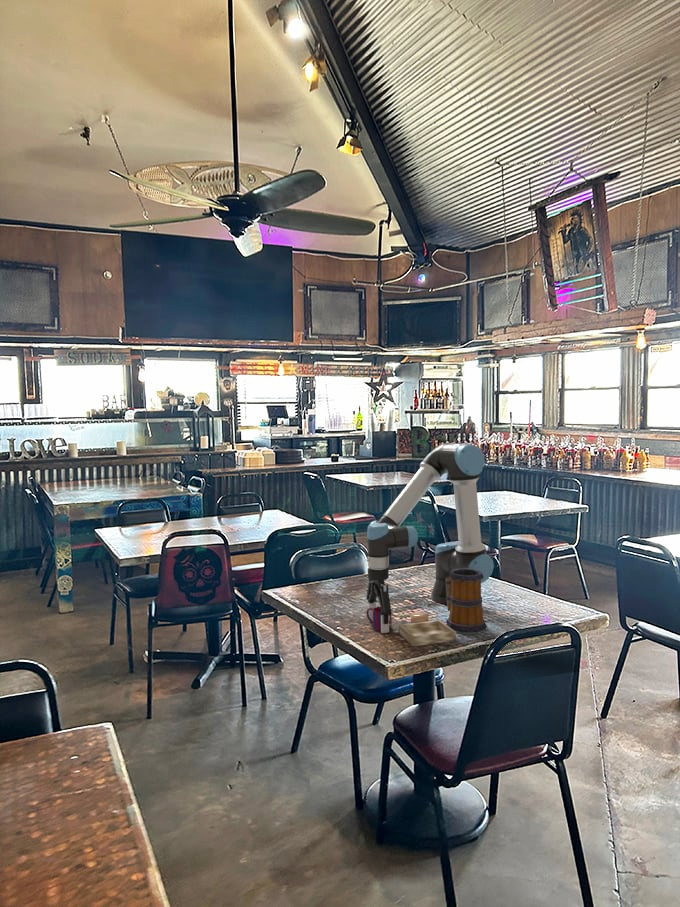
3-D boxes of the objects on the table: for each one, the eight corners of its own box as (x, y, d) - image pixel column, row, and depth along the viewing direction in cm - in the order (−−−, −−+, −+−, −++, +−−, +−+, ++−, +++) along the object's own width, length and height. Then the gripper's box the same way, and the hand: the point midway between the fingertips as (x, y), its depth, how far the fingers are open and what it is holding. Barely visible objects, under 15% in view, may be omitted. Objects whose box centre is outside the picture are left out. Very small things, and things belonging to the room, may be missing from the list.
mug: (430, 620, 234) (430, 566, 233) (463, 614, 240) (463, 562, 238) (460, 636, 216) (460, 579, 215) (495, 630, 222) (495, 574, 221)
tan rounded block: (424, 620, 234) (424, 611, 233) (431, 626, 228) (431, 616, 227) (408, 622, 232) (407, 613, 232) (414, 628, 226) (414, 618, 226)
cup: (383, 632, 221) (382, 613, 221) (362, 626, 229) (362, 607, 228) (395, 627, 226) (395, 609, 226) (374, 621, 233) (374, 603, 233)
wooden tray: (439, 628, 225) (439, 620, 224) (456, 640, 213) (456, 631, 212) (398, 633, 220) (398, 625, 220) (413, 646, 208) (412, 637, 208)
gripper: (357, 560, 237) (358, 616, 238) (380, 576, 213) (380, 639, 215) (376, 559, 239) (376, 614, 240) (400, 574, 215) (401, 636, 217)
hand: (378, 626), depth 227 cm, fingers open, 12 cm apart
